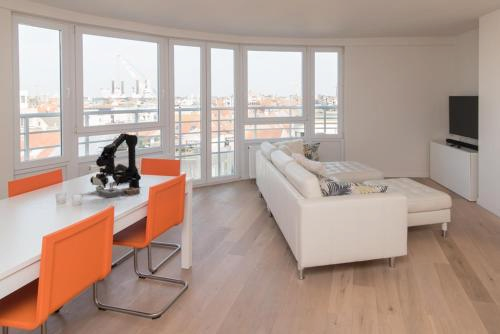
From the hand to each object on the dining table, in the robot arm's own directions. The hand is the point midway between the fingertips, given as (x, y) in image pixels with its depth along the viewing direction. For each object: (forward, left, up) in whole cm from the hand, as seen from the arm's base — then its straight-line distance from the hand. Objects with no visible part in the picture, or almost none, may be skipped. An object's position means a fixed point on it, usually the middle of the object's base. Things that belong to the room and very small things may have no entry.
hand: (111, 187), depth 297 cm
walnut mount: (-11, +5, -6) cm, 14 cm away
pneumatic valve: (0, -18, -6) cm, 19 cm away
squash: (-28, -38, -6) cm, 48 cm away
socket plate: (0, 0, -6) cm, 6 cm away
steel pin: (0, 0, -6) cm, 6 cm away
